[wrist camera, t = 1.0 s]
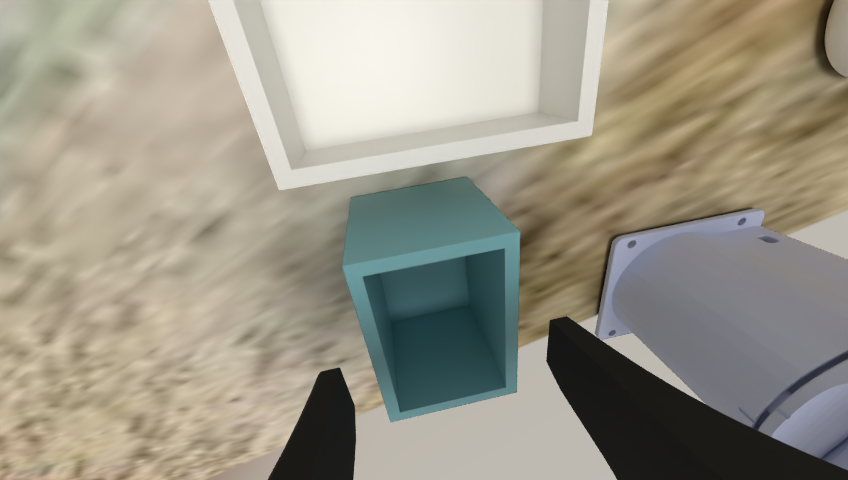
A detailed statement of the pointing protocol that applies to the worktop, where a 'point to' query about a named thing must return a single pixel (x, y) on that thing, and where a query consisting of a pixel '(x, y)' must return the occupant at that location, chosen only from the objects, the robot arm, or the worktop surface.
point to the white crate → (410, 79)
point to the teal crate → (435, 294)
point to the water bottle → (838, 37)
